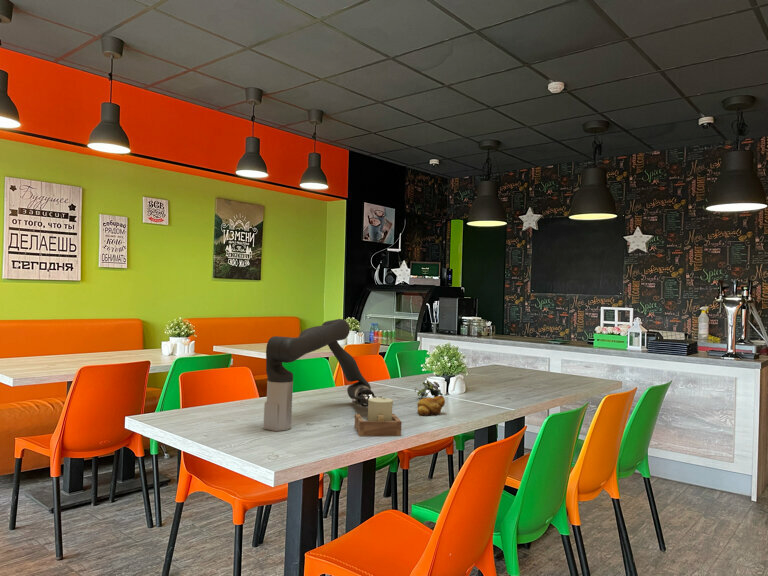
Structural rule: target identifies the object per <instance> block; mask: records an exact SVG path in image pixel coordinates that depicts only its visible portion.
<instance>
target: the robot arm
mask: <svg viewBox="0 0 768 576" xmlns="http://www.w3.org/2000/svg"><path fill="white" fill-rule="evenodd" d="M350 329H351V328H350V325H349V322H347V321H346V320H345V319H342V318H337V319H332V320H327V321H324V322H323V323H322V324H321V325H316V326H315V325H314V326H311V327H309V328H305V329H304V330H302V331H301V332H300V333H299V335H298V336H297V337H292V336H291V337H289V336H279V335H278V336H272V337H270V338H269V339H268V341H267V344H266V348H265V360H266V361H265V363H266V364H265V370H266V373H265V374H266V376H267V384H266V385H267V386H266V387H267V388H266V401H265V402H264V407H263V409H264V410H263V411H264V412H263V429H264V430H268V431H272V432H273V431H274V432H278V431H287V430H290V429H291V428H292V415H293V414H292V413H293V410H292V409H293V390H294V389H293V388H294V373H293V372H291V371H290V370H288V369H287V368H286V367H285V366H284V365H283V363H288V364H289V363H294V362H296V361H297V360H299V359H300V358H301V357H303V356H305V355H308V354H310V353H312V352H315V351H317V350H319V349H321V348H324V347H326V346H327V347H328V348H329V349H330V351H331V353H332V354H333V355H334V357H335V359H336V360H337V362H338V364H339V366H340V368H341V371H342V373H343V375H344V377H345V379H346V381H347V382H351V383H352V382H354V383H352V384H350V385H349V386H348V387H347V388H346V390H347V395H348V397H349V398H350V399H352V401H351V402H352V403H353V404H358V405H360V406H362V407H364V408H368V399H369V398H383V396H376V395H375V393H374V392H373V391H372V387H371V384H370V383H369V382H368V380H367V379H365V377H364V376H363V375H362V373H361V370H360V369H359V365H358V364H357V361H356V360H355V358H354V357H353V356H352V355H351V354H350V353H349V352H348V351H347V350H345V348H343V347H342V345H341V344H340V343H339V342H338V341H343V340H346V339H347V338H348V336H349V335H350V333H351V332H350V331H351V330H350Z"/></svg>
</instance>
